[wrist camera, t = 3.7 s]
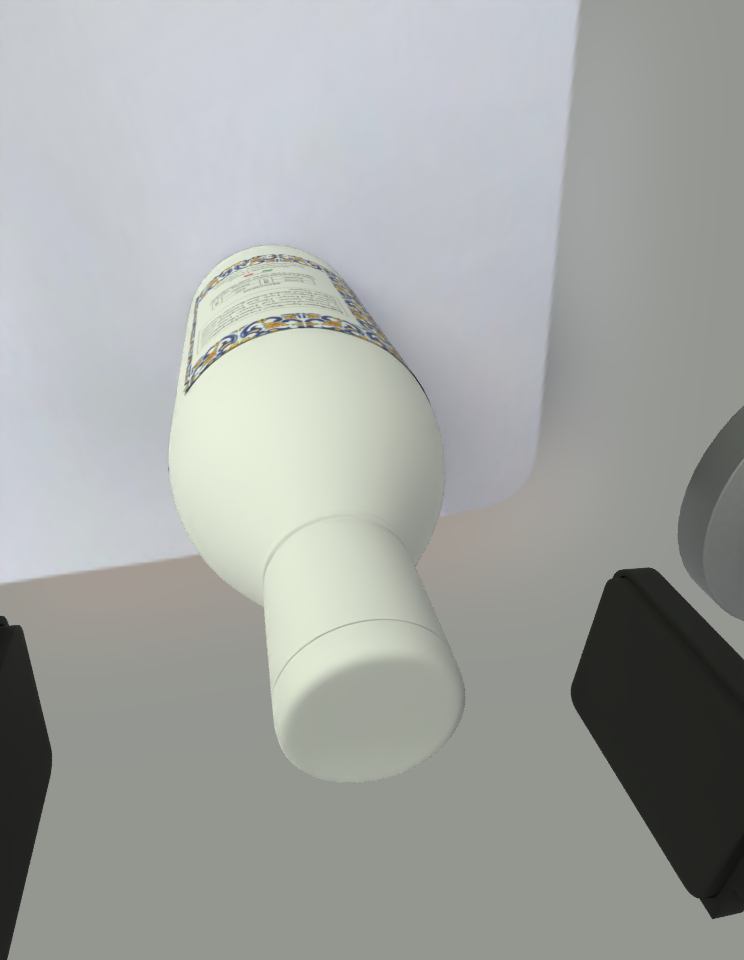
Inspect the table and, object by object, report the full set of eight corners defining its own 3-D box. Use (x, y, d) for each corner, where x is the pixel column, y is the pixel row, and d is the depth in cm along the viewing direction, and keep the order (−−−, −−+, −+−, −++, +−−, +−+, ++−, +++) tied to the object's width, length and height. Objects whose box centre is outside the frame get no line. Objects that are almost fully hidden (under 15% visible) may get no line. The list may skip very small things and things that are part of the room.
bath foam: (329, 423, 29) (484, 864, 12) (172, 386, 27) (90, 867, 10) (380, 273, 26) (679, 573, 9) (209, 217, 24) (182, 480, 7)
